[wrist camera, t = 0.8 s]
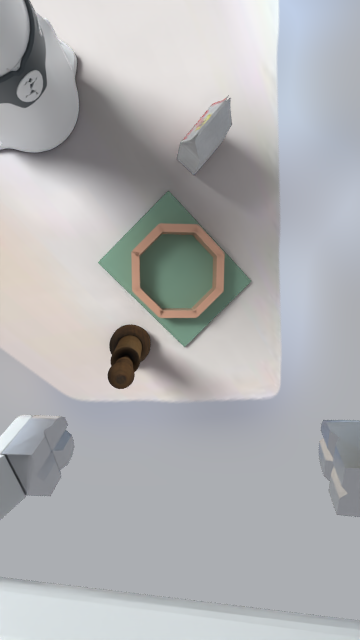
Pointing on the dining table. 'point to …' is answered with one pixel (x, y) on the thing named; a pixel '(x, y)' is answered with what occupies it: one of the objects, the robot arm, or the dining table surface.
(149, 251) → the green mat
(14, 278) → the dining table surface
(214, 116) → the tea bag
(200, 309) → the pink octagonal ring
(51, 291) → the dining table surface
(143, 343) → the brown wooden chess piece
